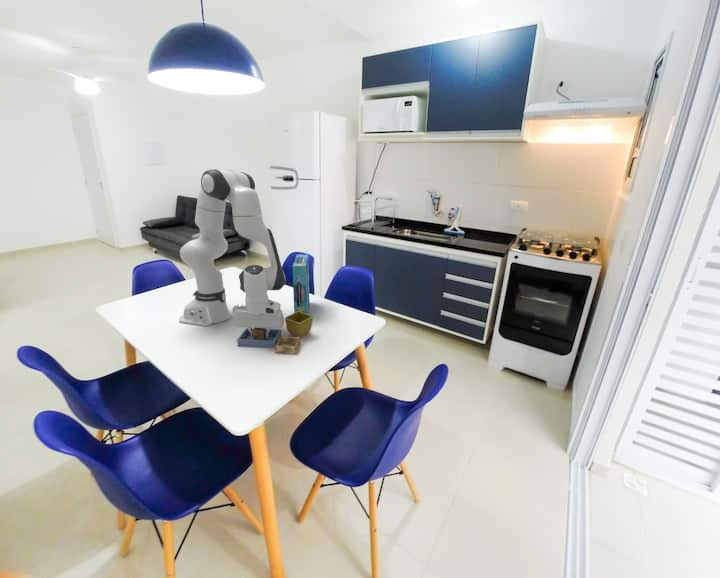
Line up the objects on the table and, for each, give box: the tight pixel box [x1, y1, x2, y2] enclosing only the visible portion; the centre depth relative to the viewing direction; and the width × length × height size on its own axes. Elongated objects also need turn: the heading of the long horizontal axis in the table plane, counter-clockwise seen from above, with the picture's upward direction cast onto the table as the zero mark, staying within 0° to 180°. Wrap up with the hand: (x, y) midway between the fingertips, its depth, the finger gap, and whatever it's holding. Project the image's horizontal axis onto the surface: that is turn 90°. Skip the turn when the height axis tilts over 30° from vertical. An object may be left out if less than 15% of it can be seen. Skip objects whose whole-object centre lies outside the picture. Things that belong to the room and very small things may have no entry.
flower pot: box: [284, 311, 314, 339], centre depth 143 cm, size 9×9×9 cm
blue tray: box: [236, 327, 283, 349], centre depth 137 cm, size 15×10×4 cm
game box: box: [292, 254, 310, 315], centre depth 164 cm, size 20×6×27 cm, turn 5°
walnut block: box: [253, 328, 267, 340], centre depth 137 cm, size 4×4×6 cm
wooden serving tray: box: [274, 335, 302, 355], centre depth 132 cm, size 8×8×4 cm
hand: (260, 336), depth 137 cm, fingers closed on walnut block, 4 cm apart
